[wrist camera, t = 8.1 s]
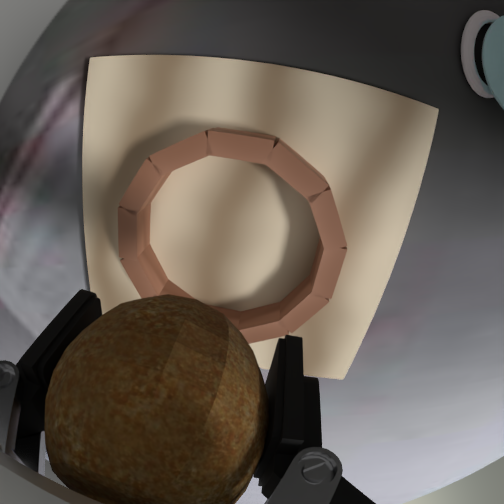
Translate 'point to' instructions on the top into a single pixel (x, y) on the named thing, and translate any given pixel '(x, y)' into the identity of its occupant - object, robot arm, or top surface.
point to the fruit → (157, 406)
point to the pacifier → (485, 55)
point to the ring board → (250, 194)
